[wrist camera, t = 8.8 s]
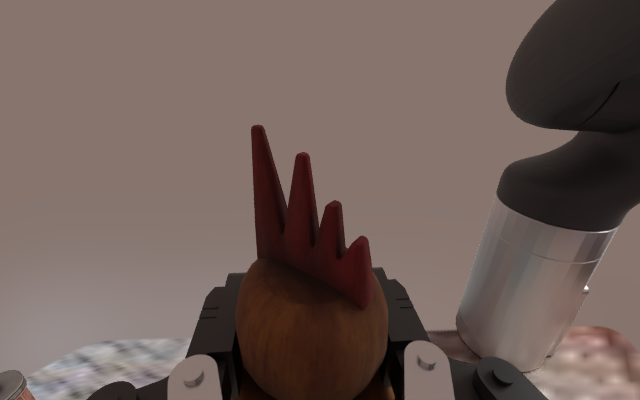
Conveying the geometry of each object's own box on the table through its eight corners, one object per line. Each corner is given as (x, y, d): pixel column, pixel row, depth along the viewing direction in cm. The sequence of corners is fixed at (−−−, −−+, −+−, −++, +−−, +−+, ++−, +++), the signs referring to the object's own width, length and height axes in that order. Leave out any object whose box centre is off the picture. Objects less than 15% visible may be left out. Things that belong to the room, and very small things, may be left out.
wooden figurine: (222, 430, 15) (156, 121, 8) (321, 371, 18) (331, 106, 11) (286, 632, 10) (246, 247, 3) (410, 503, 13) (529, 159, 6)
